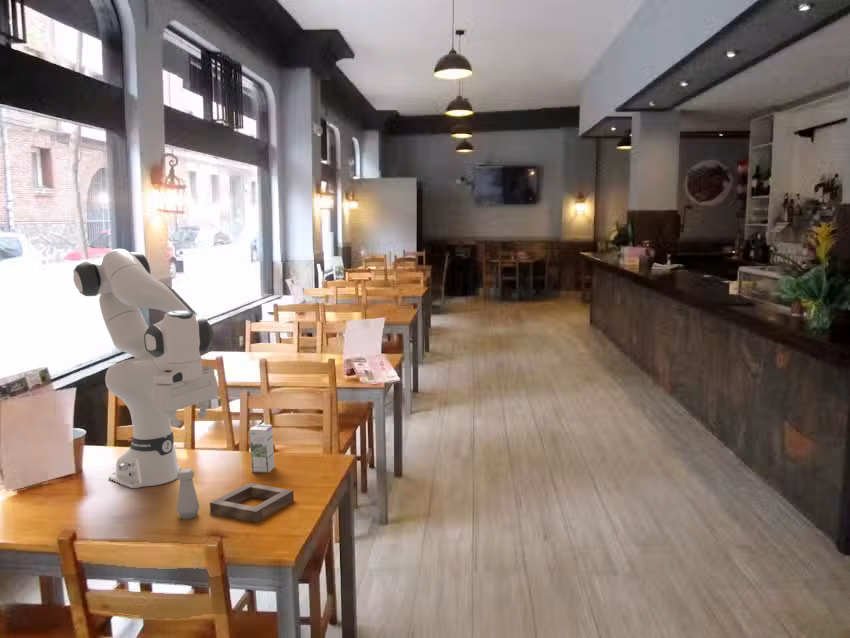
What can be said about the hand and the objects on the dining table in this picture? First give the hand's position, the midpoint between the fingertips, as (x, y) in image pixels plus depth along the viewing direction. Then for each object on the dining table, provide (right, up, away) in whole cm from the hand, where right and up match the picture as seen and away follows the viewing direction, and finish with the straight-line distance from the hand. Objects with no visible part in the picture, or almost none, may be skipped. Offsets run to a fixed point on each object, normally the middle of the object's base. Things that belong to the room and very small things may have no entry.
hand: (189, 421), depth 185 cm
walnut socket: (+15, -25, +6) cm, 30 cm away
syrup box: (+11, -21, +36) cm, 43 cm away
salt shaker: (-1, -26, +1) cm, 26 cm away
